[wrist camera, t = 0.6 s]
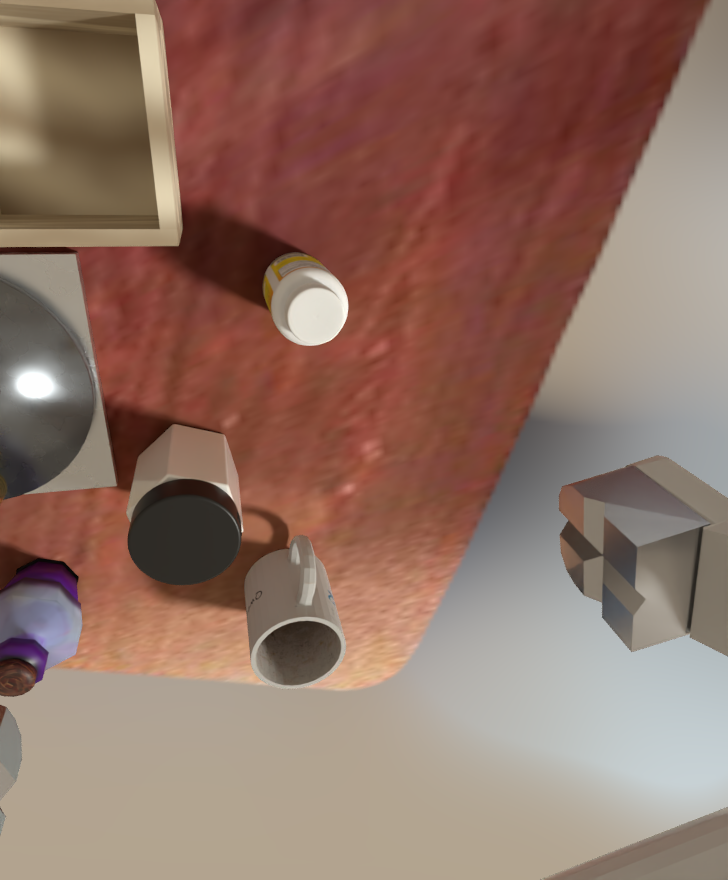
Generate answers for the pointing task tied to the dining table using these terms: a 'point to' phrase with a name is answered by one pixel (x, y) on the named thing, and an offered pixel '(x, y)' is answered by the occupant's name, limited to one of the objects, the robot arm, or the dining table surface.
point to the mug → (292, 618)
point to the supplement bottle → (304, 299)
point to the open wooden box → (86, 126)
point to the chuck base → (64, 294)
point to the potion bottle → (37, 623)
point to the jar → (185, 507)
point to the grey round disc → (39, 393)
